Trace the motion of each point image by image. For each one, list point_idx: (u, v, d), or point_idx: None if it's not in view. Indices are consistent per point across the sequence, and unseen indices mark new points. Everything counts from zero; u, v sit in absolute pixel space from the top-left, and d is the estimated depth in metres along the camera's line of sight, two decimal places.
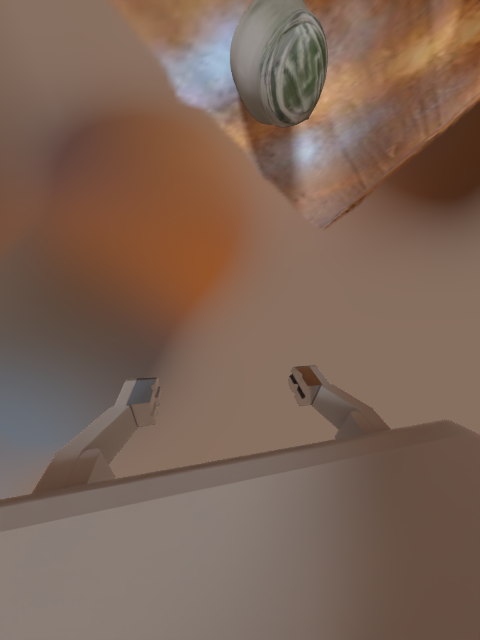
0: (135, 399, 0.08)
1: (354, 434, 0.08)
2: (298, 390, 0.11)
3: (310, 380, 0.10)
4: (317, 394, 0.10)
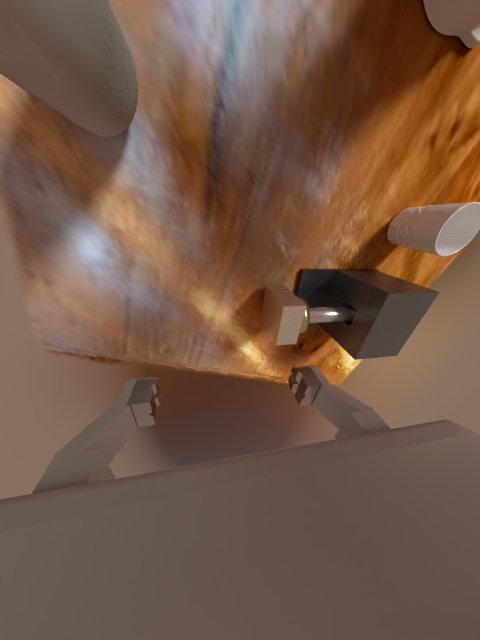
0: (135, 399, 0.08)
1: (354, 434, 0.08)
2: (298, 390, 0.11)
3: (310, 380, 0.10)
4: (317, 394, 0.10)
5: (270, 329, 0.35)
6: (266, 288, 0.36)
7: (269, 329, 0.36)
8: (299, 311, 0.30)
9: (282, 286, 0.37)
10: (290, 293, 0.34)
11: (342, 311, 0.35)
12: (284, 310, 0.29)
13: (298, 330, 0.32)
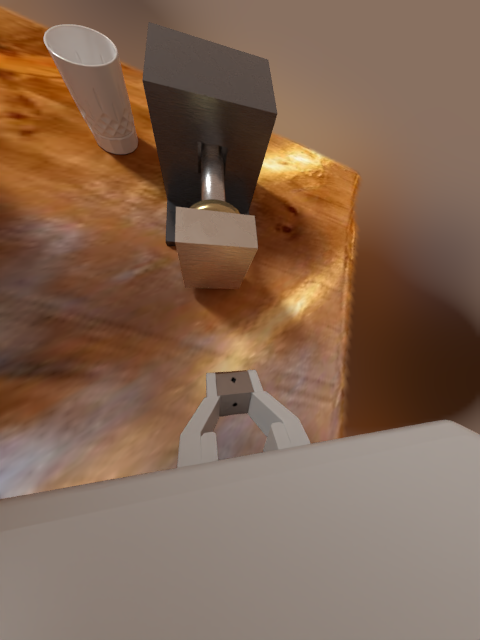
0: (222, 390, 0.09)
1: (272, 449, 0.07)
2: None
3: (242, 387, 0.09)
4: (250, 401, 0.09)
5: (240, 266, 0.21)
6: (187, 285, 0.25)
7: (242, 269, 0.22)
8: (186, 216, 0.17)
9: None
10: None
11: (203, 164, 0.23)
12: (184, 240, 0.17)
13: (226, 214, 0.18)
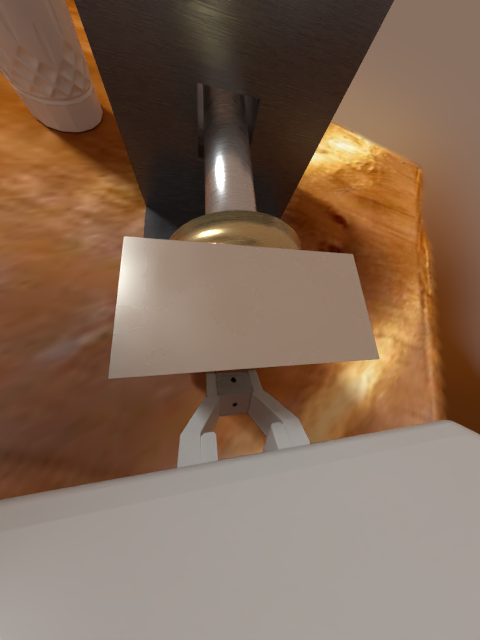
0: (222, 390, 0.09)
1: (272, 449, 0.07)
2: None
3: (242, 387, 0.09)
4: (250, 401, 0.09)
5: None
6: None
7: None
8: (159, 269, 0.05)
9: None
10: None
11: (209, 131, 0.11)
12: (145, 364, 0.04)
13: (280, 255, 0.06)
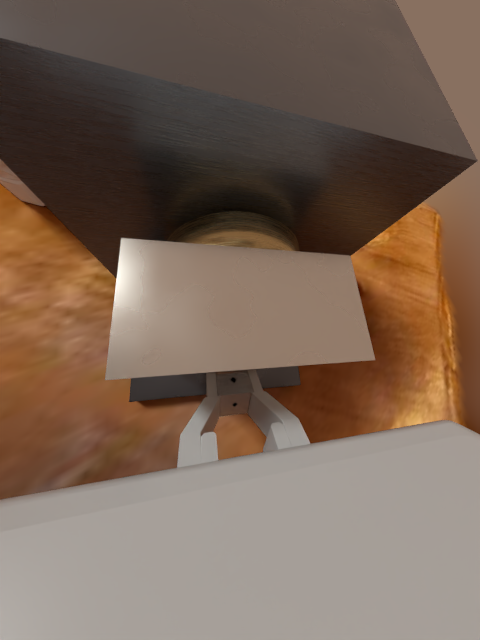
0: (222, 391, 0.09)
1: (272, 449, 0.07)
2: None
3: (242, 387, 0.09)
4: (250, 401, 0.09)
5: None
6: None
7: None
8: (157, 271, 0.05)
9: None
10: None
11: None
12: (142, 366, 0.04)
13: (277, 256, 0.06)
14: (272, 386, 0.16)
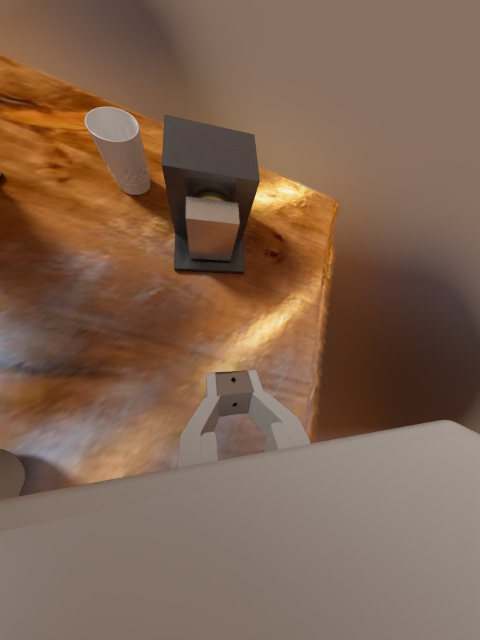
0: (222, 390, 0.09)
1: (272, 448, 0.07)
2: None
3: (242, 386, 0.09)
4: (250, 401, 0.09)
5: (229, 239, 0.31)
6: (192, 255, 0.34)
7: (230, 242, 0.31)
8: (193, 202, 0.27)
9: None
10: None
11: None
12: (191, 217, 0.26)
13: (218, 202, 0.28)
14: (231, 270, 0.37)
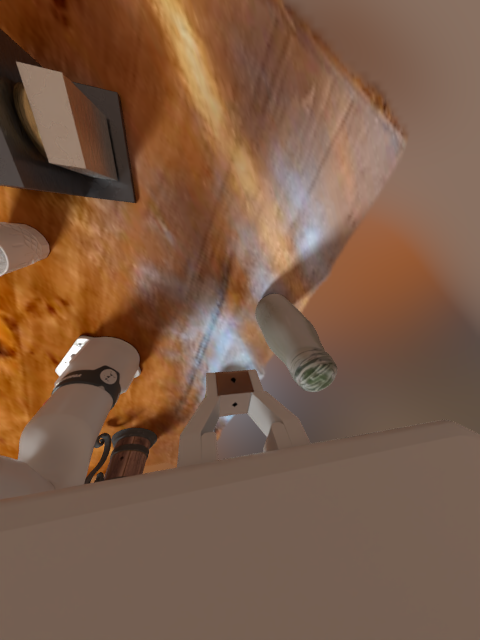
0: (222, 390, 0.09)
1: (272, 449, 0.07)
2: None
3: (242, 386, 0.09)
4: (250, 401, 0.09)
5: (84, 104, 0.23)
6: (115, 176, 0.30)
7: (86, 103, 0.23)
8: (55, 153, 0.22)
9: (93, 176, 0.30)
10: (79, 172, 0.27)
11: None
12: (81, 160, 0.22)
13: (33, 105, 0.20)
14: (120, 117, 0.28)
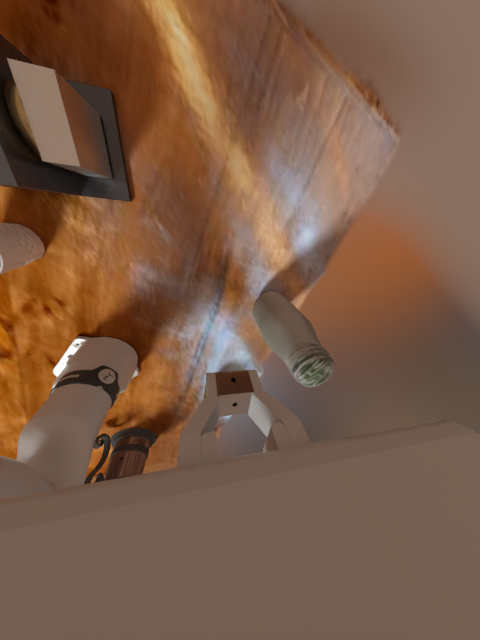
0: (222, 390, 0.09)
1: (272, 449, 0.07)
2: None
3: (242, 387, 0.09)
4: (250, 401, 0.09)
5: (77, 102, 0.22)
6: (109, 175, 0.30)
7: (79, 100, 0.23)
8: (48, 151, 0.22)
9: (87, 175, 0.30)
10: (73, 170, 0.26)
11: None
12: (75, 157, 0.22)
13: (25, 103, 0.20)
14: (114, 115, 0.28)
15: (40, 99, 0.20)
